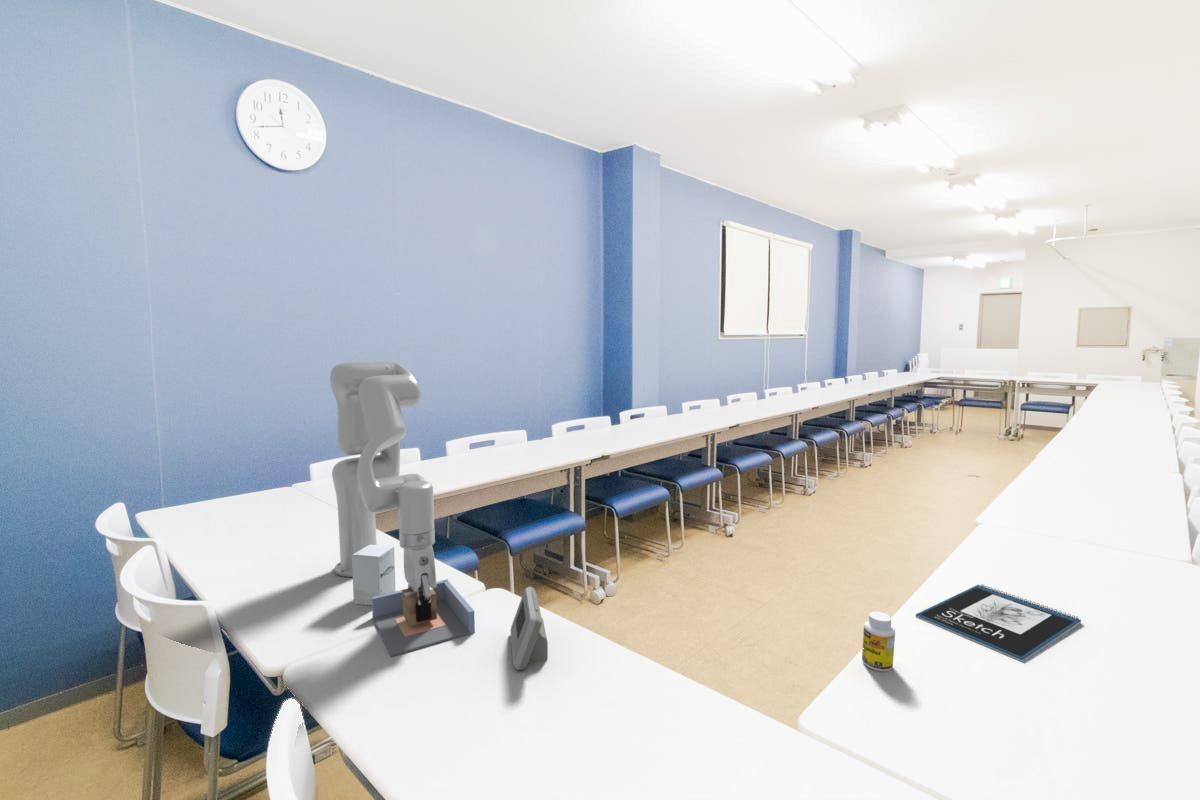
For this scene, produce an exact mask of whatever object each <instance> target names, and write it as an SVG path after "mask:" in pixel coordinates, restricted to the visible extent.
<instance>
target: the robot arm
mask: <svg viewBox="0 0 1200 800" xmlns="http://www.w3.org/2000/svg"><path fill="white" fill-rule="evenodd" d="M329 383H330V387H331V391H332V394H333V396H334V398H335V401H336V406H337V442H338V448H339V450H340V452H341V453H342V454H344V455H346V456H347V455H348V456H356V455H360V456H358V457H351V458H345V459H343V460H341V461H338V462H337V463H335V465H334V466H333V468H332V471H331V477H332V478H331V479H332V481H333V487H334V491H335V496H336V504H337V517H338V519H337V520H338V535H339V537H338V539H339V554H340V555H339V556H340V557H339V559H340V562H338V563H337V564H335V566H334V573H335V574H336V575H337V574H338V576H341V577H345V576H346V578H348V577H349V578H351V577H352V578H353V573H352V555H353V554H354V553H356V552H358V551H359V550H361V549H363V548H364V547H366V546H368V545H378V543H377V528H376V527H377V524H376V523H377V522H376V513H377V514H379V513H384V512H389V511H393V510H397V511H398V512H397V514H398V536H399V540H398V541H399V547H400V548H401V549H403V572H404V574H403V575H404V578H405V581H406V582H407V589H408V588H412V590H413V591H414V592H416V597H417V604H416V621H417V622H421V621H425V620H428V619H431V591H430V587H431V588H433V589H435V588H436V586H437V585H436V582H437V575H436V574H437V572H436V562H435V561H436V559H435V553H434V548H433V545H434V544H435V543H436V538H435V537H436V533H435V505H434V503H435V501H434V487H433V485H432V483H430V482H429V481H426V479H425V478H424V477H423V476H422V475H421V474H419V473H408V474H401V475H400V471H401V469H400V468H401V467H400V465H401V464H400V463H401V441H402V440H403V439H404V438H405V436H406V434H407V428H406V424H405V420H404V418H403V413H402V409H403V408H404V409H405V408H414V407H416V406H417V405H418V404H419V403H420V401H421V395H422V394H421V388H420V384H419V382H418V380H417V378H415V376H414V375H413V374H412V372H410V371H409V370H408V369H407V368H405V366H403V365H402V364H401V363H399V362H397V361H351V362H350V361H349V362H342V363H338V364H336V365H334V366H333V367H332V368H331V370H330V377H329ZM429 585H430V587H429ZM419 587H422V588H423V589H421V590H418V588H419ZM422 592H423V596H421V598H420V593H422Z"/></svg>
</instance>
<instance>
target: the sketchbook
mask: <svg viewBox="0 0 1200 800" xmlns="http://www.w3.org/2000/svg"><path fill="white" fill-rule="evenodd" d="M915 617H916V618H918V619H921V620H923V621H925V622H927V623H929V624H931V625H935V626H937V627H939V628H942V629H943V630H946V631H948V632H951V633H953V634H956V635H958V636H960V637H963V638H965V639H967V640H969V641H972V642H975V643H977V644H980V645H981V646H984V647H985V648H988V649H990V650H993V651H995V652H998V653H1000V654H1002V655H1005V656H1008V657H1010V658H1011V659H1014V660H1017V661H1019V662H1021V663H1023V662H1024V661H1027V660H1028V659H1029V658H1031V657H1032V656H1034V655H1035V654H1037V653H1039V652H1040V651H1042V650H1043V649H1044V648H1047V647H1048V646H1049V645H1050V644H1053V643H1054V642H1056V641H1057V640H1058V639H1059V638H1062V637H1063V636H1064V635H1066V634H1067V633H1069V632H1070V631H1072V630H1074V629H1075V628H1077V627H1078V626H1080V625H1081V624H1082V623H1081V622H1082V619H1079V616H1076V615H1074V614H1071V613H1066V611H1063V612H1062V610H1058V609H1056V608H1054V609H1053V607H1049V606H1047V605H1044V604H1040V603H1039V602H1037V603H1036V601H1032V600H1029V599H1027V598H1023V597H1020V596H1017V595H1015V594H1011V593H1008V592H1007V591H1004V590H1000V589H996V587H991V586H988V585H985V584H982V583H981V584H976V585H974V586H972V587H970V588H968V589H965V590H964V591H962V592H960V593H957V594H955V595H953V596H951V597H949V598H947V599H945V600H943V601H941V602H938V603H937V604H934V605H932V606H931V607H927V608H926V609H923V610H922V611H919V612H918V613H916V614H915Z"/></svg>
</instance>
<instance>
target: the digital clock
mask: <svg viewBox="0 0 1200 800" xmlns="http://www.w3.org/2000/svg"><path fill="white" fill-rule="evenodd" d="M540 609H541V608H540V605H539V600H538V594H537V591H536V589H535V588H534V587H532V586H528V587H526V588H524V590H523V593H522V595H521V599H520V602H519V605H518V607H517V610H516V612H515V614H514V618H513V620H512V624H511V626H510V640H511V653H512V663H513V664H512V665H513V667H514V668H515V669H516V670H517V671H523V670H525V669H526V668H527V666H528V663H531V662H538V661H540V662H541V661H546V660H548V659H549V656H548V654H549V652H548V649H549V648H548V645H549V643H548V638H547V633H546V629H545V623H544V619H543V617H542V613H541V610H540Z"/></svg>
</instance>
